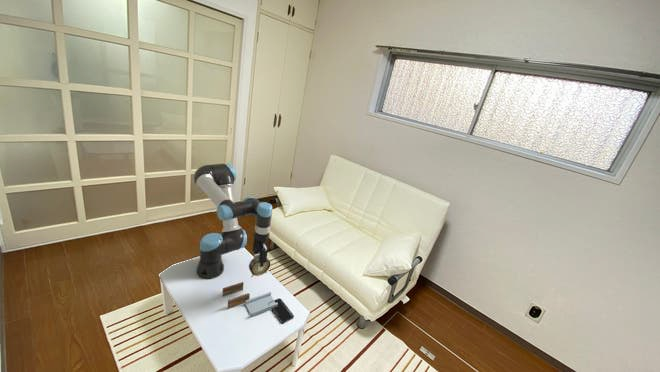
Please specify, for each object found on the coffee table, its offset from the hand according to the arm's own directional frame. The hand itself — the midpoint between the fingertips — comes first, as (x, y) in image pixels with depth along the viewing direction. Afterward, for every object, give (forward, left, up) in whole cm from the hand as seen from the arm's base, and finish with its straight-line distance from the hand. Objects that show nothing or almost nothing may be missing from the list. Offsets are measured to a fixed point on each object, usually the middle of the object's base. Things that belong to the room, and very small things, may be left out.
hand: (258, 267), depth 146 cm
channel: (0, -11, -17) cm, 21 cm away
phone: (+19, +7, -18) cm, 27 cm away
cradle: (+11, -1, -17) cm, 20 cm away
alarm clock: (0, +1, -5) cm, 5 cm away
